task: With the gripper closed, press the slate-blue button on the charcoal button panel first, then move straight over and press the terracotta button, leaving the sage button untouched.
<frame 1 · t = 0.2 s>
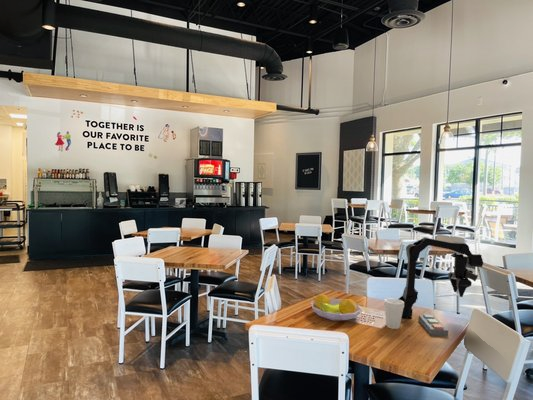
hand: (458, 294, 205), 14 cm above the table, tool pointing down, fingers open, 9 cm apart
slate blue button: (428, 317, 200), point 3 cm above the table, slide at 0.0 cm
fruit bowl: (333, 317, 204), on the table
button panel: (432, 328, 193), on the table
foam cup: (392, 326, 193), on the table
terracotta button: (437, 327, 186), point 3 cm above the table, slide at 0.0 cm
sage button: (432, 322, 193), point 3 cm above the table, slide at 0.0 cm
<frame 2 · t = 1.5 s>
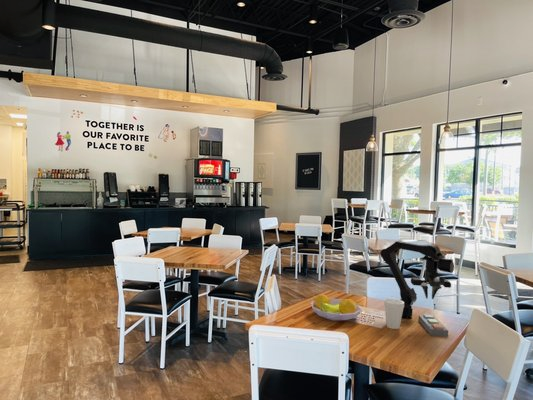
hand: (429, 298, 199), 13 cm above the table, tool pointing down, fingers open, 3 cm apart
nothing on the table moved.
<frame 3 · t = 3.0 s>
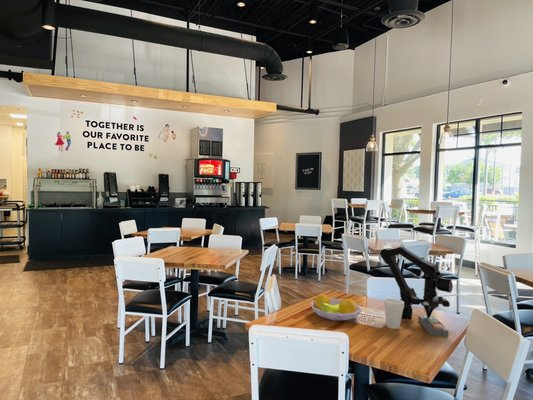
hand: (428, 317, 200), 3 cm above the table, tool pointing down, fingers closed, pressing on slate blue button
slate blue button: (428, 319, 200), point 2 cm above the table, slide at 1.0 cm, touching gripper
everything else where it was.
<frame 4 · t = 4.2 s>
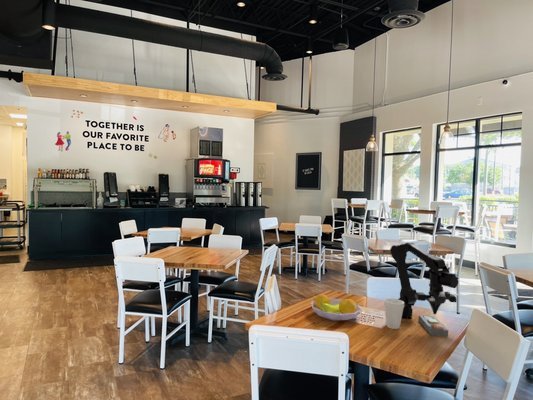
hand: (434, 314, 192), 7 cm above the table, tool pointing down, fingers closed
slate blue button: (428, 319, 200), point 2 cm above the table, slide at 1.0 cm
everything else where it was.
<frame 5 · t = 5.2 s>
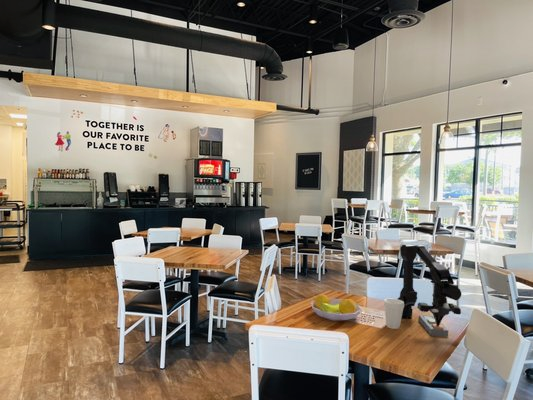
hand: (437, 325, 186), 4 cm above the table, tool pointing down, fingers closed, pressing on terracotta button
terracotta button: (437, 327, 186), point 3 cm above the table, slide at 0.0 cm, touching gripper
everything else where it was.
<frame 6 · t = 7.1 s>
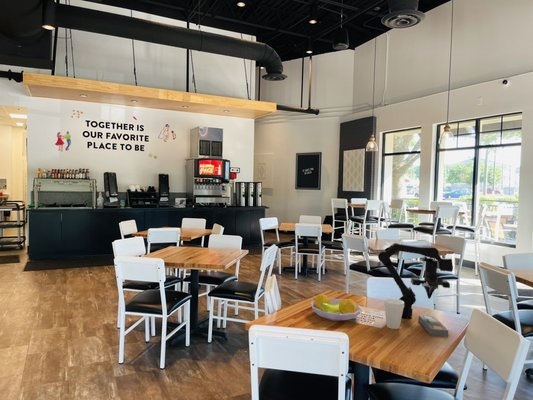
hand: (429, 298, 206), 11 cm above the table, tool pointing down, fingers closed
terracotta button: (437, 329, 186), point 2 cm above the table, slide at 1.0 cm
everything else where it was.
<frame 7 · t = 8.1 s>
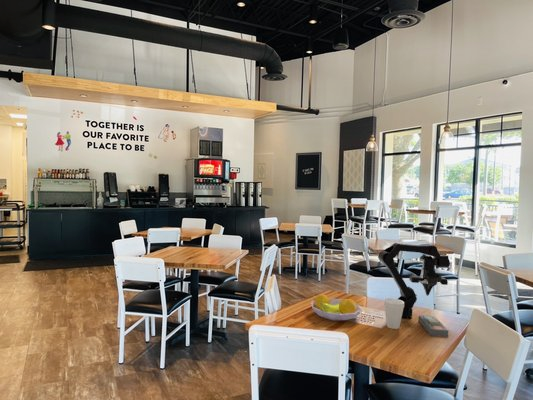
hand: (427, 295, 209), 12 cm above the table, tool pointing down, fingers closed
nothing on the table moved.
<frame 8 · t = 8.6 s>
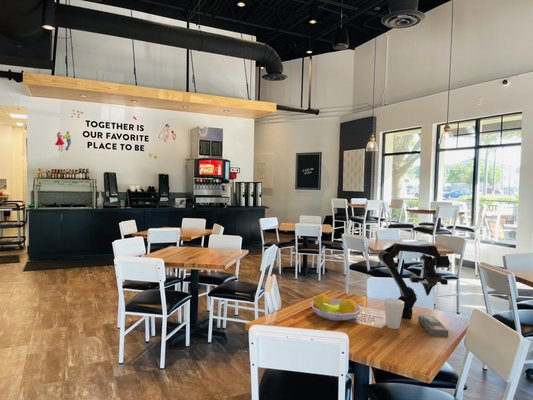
hand: (427, 295, 209), 12 cm above the table, tool pointing down, fingers closed
nothing on the table moved.
at the end: slate blue button slide at 1.0 cm; terracotta button slide at 1.0 cm; sage button slide at 0.0 cm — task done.
